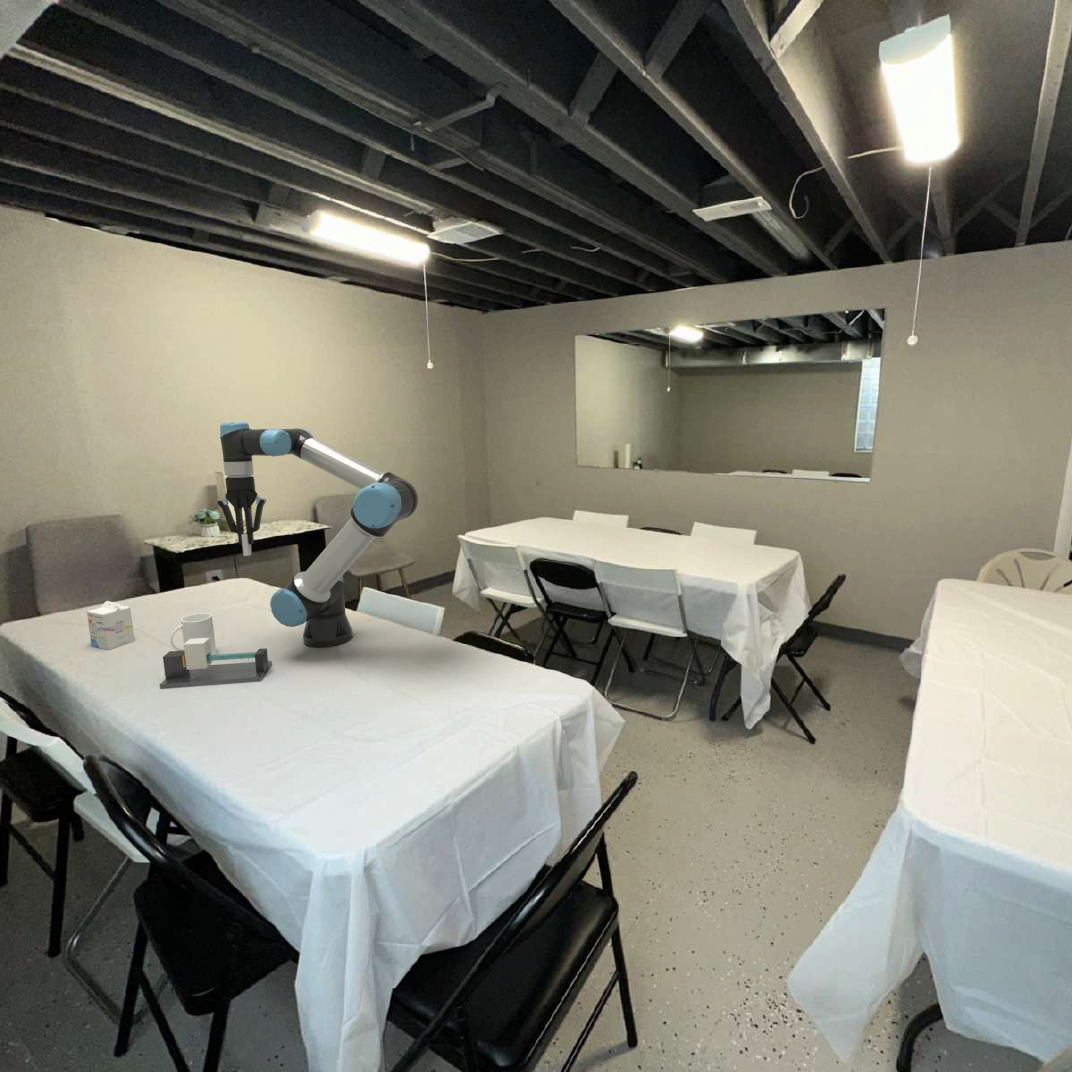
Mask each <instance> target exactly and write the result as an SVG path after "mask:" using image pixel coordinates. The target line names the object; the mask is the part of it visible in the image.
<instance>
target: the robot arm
mask: <svg viewBox="0 0 1072 1072" xmlns="http://www.w3.org/2000/svg"><path fill="white" fill-rule="evenodd" d="M219 429H220V430H219V431H220V434H219V436H220V437H219V439H220V443H221V451H222V458H223V459H222V461H223V471H224V475H225V476H227V477H225V481H224V482H225V489H226V493H225V495H224V496H225V497H224V498H222V499H220V500H217V504H218V506H219V507H220V508H221V509H222V513H223V514H224V517H225V520H226V523H227V527H228V528H229V531H230V532H231V533H233V534H237V541H238V544H239V545H241V546H242V554H243V557H250V556H251V555H252V545H253V544H254V542H255V540H254V533H255V532H258V531H259V530H260V528H261V520H262V516H263V509H264V507H265V504H266V503H267V499H266V498H262V497H260V496H259V495H258V493H257V491H256V486H255V485H256V483H255V477H254V476H253V475H254V463H253V462H254V461H253V456H259V457H260V456H261V457H262V456H263V457H266V456H267V457H282V456H286V455H292V456H294V457H297V458H299V459H301V460H303V461H305V462H306V463H309V464H311V465H313V466H314V467H316V468H319V469H320V470H323V471H324V472H326V473H328V474H330V475H332V476H334V477H336V478H338V479H339V480H342V481H344V482H346V483H348V484H349V485H351V486H353V487H355V488H357V489H359V491H358V493H357V494H356V495H355V497H354V500H353V504H352V505H353V506H352V507H351V508H350V510H349V516H350V518H349V520H348V521H347V522H346V523H345V524H344V525H343V527H342V528H341V529H340V531H338V533H337V534H336V536H334V538H333V539H332V540H331V541H330V542H329V543H328V545H327V546H326V547H325V548H324V549H323V551H322V552H321V553H320V554H319V555H318V556H317V558H315V560H314V561H313V562H312V564H311V565H310V566H309V567H308V568H307V569H306V571H299V572H298V573H296V574H295V575H294V577H292V579H291V580H290V581H289V582H288V584H287V585H286V586H285V587H283V588H280V589H278V590H276V591H275V592H274V593H273V594H272V596H271V597H270V602H269V605H270V609H271V613H272V615H273V618H274V619H276V621H278V623H280V624H281V625H283V626H285V627H288V628H289V627H290V628H295V627H298V626H301V625H304V624H305V626H304V631H303V635H302V641H303V644H304V645H305V646H308V647H313V648H327V647H332V646H333V647H334V646H338V645H339V646H340V645H341V644H345V643H346V642H348V641H350V640H351V639H353V628H352V625H351V624H350V623H351V622H349V619H348V616H347V614H346V602H345V588H344V587H345V585H344V583H345V581H344V574H345V573H346V572H347V571H348V570H349V568H350V567H351V566H352V565H353V564H354V563H355V561H356V560H358V558H359V557H360V556H361V554H362V553H364V552H365V550H366V549H367V548H368V547H369V545H370V544H371V543H372V542H373V541H374V539H376V538H377V539H378V538H379V539H380V538H383V537H385V536H386V534H387V533H388V532H389V531H390V530H391V529H392V528H393V526H394V525H396V523H398V522H399V521H402V520H404V519H407V518H409V517H410V516H412V515H413V514H414V513H415V511H416V509H417V508H418V505H419V495H418V492H417V490H416V488H415V486H413V484H412V483H411V482H409V481H408V480H406V479H404V478H402V477H400V476H398V475H396V474H394V473H393V472H390V471H386V472H383V471H380V470H378V469H377V468H374V467H372V466H371V465H369V464H366V463H365V462H363V461H361V460H358V459H357V458H354V457H353V456H350V455H349V454H347V453H345V452H342V451H341V450H339V449H337V448H334V447H333V446H330V445H328V444H327V443H325V442H322V441H321V440H318V439H316V437H314V435H313V434H312V432H311V431H309V430H307V429H303V428H297V427H295V428H260V429H259V428H256V429H251V428H250V424H249V423H248V422H243V421H241V422H240V421H239V422H238V421H237V422H233V421H231V422H230V421H229V422H226V421H224V422H222V423H221V424H220V426H219ZM255 501H256V502H255ZM229 503H230V504H231V506H232V507H233V511H234V514H235V515H234V517H235V519H234V517H233V514H232V511H231V508H230V506H229ZM254 503H255V504H256V509H255V514H254V520H253V515H252V514H253V513H252V506H253V505H254ZM243 511H244V519H245V520H244V519H243ZM244 521H245V527H244ZM245 530H246V532H245Z"/></svg>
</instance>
